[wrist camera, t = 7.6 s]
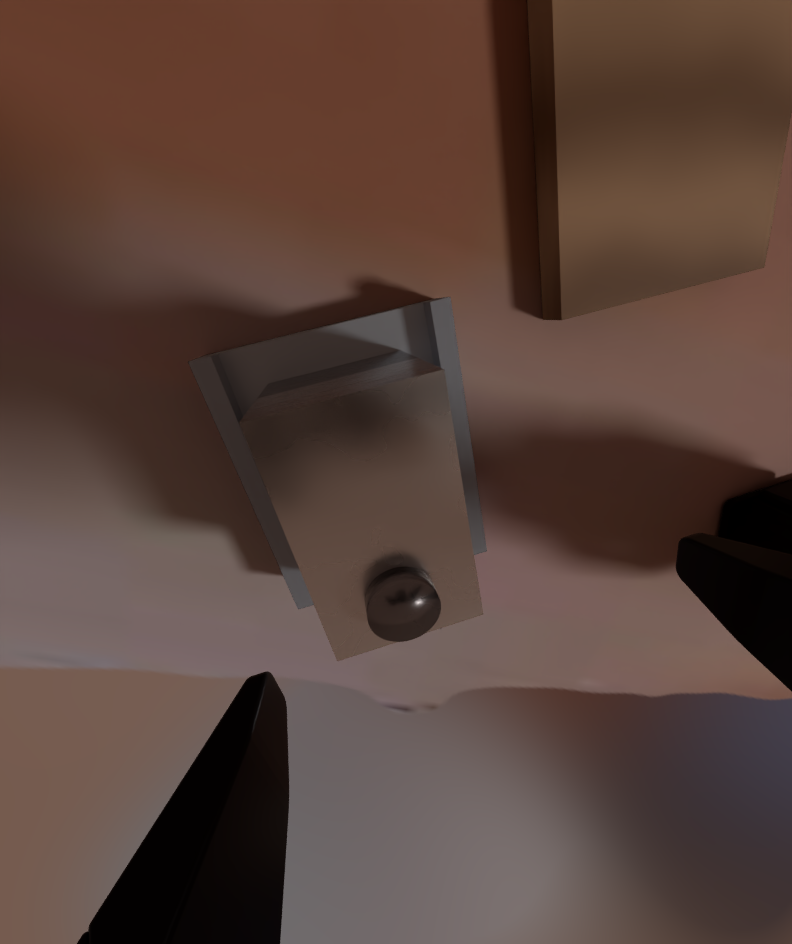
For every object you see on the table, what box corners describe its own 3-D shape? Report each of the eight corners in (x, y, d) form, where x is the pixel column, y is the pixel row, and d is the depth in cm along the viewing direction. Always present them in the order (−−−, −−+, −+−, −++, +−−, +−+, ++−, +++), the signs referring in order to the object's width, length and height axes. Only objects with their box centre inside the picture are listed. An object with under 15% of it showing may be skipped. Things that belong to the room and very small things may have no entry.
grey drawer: (400, 350, 15) (454, 373, 9) (436, 529, 19) (492, 631, 13) (268, 383, 15) (232, 431, 9) (332, 560, 19) (338, 681, 12)
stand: (731, 271, 18) (764, 267, 17) (543, 319, 18) (561, 319, 16) (784, -101, 13) (837, -148, 12) (524, -58, 13) (549, -103, 11)
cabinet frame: (470, 525, 21) (488, 550, 19) (298, 577, 20) (296, 610, 18) (434, 298, 16) (452, 296, 14) (204, 355, 15) (185, 362, 13)
